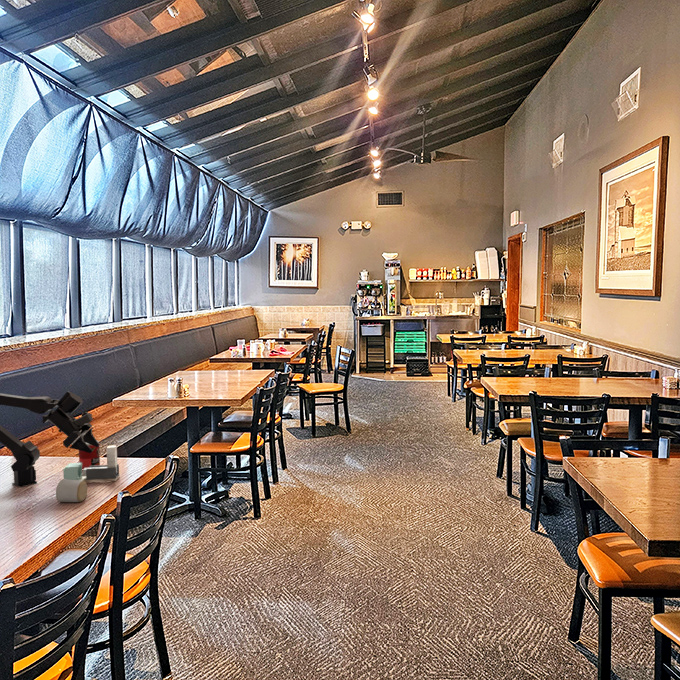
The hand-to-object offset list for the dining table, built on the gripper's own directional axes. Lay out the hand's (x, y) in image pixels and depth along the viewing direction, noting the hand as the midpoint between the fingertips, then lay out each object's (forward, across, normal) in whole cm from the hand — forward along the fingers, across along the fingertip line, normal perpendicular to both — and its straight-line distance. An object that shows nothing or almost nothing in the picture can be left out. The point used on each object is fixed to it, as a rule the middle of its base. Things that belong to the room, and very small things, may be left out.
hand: (95, 449), depth 222 cm
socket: (+2, 0, +14) cm, 14 cm away
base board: (+7, 0, +10) cm, 12 cm away
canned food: (+3, +18, +14) cm, 23 cm away
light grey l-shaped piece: (+8, 0, +6) cm, 10 cm away
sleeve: (+10, 0, +6) cm, 11 cm away
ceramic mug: (+8, -22, +10) cm, 25 cm away
